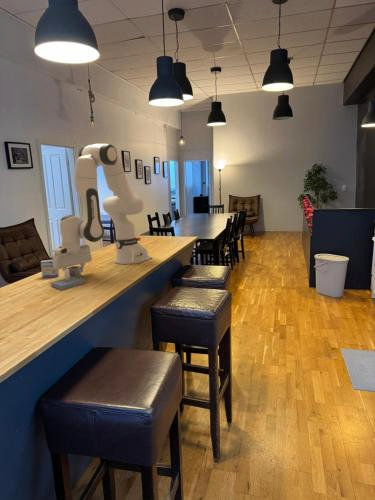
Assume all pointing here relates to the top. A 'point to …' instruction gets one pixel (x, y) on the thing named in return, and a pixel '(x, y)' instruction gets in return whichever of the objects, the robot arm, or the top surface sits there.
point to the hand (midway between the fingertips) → (74, 273)
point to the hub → (75, 271)
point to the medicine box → (48, 269)
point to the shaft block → (67, 281)
